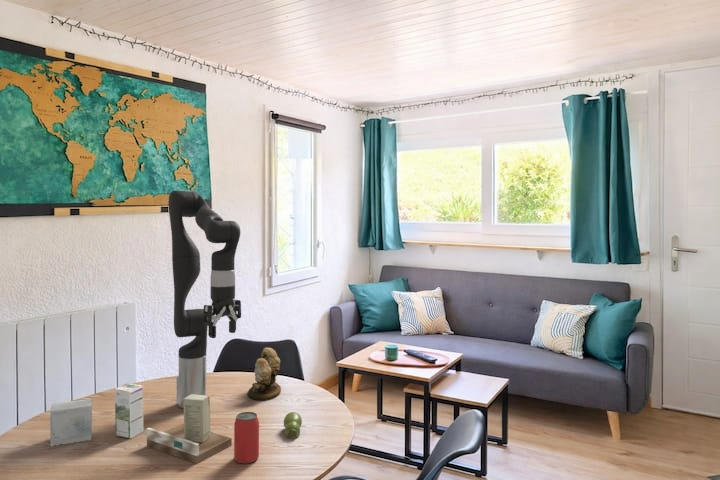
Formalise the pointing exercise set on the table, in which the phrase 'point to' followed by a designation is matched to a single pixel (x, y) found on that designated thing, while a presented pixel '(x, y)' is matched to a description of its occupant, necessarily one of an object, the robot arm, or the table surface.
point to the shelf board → (186, 444)
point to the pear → (292, 425)
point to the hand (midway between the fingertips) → (222, 335)
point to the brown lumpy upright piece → (266, 376)
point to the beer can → (246, 437)
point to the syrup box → (129, 410)
